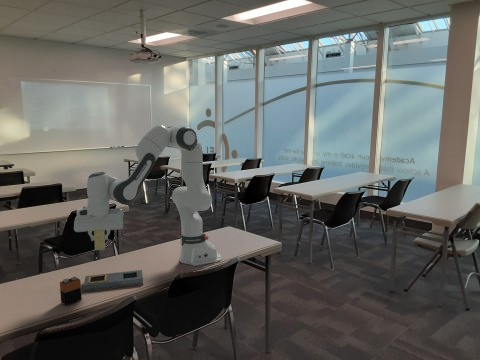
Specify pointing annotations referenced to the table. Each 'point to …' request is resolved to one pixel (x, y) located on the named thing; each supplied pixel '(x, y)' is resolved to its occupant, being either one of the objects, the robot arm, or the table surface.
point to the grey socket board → (113, 280)
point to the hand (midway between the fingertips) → (99, 239)
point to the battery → (70, 290)
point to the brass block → (99, 240)
